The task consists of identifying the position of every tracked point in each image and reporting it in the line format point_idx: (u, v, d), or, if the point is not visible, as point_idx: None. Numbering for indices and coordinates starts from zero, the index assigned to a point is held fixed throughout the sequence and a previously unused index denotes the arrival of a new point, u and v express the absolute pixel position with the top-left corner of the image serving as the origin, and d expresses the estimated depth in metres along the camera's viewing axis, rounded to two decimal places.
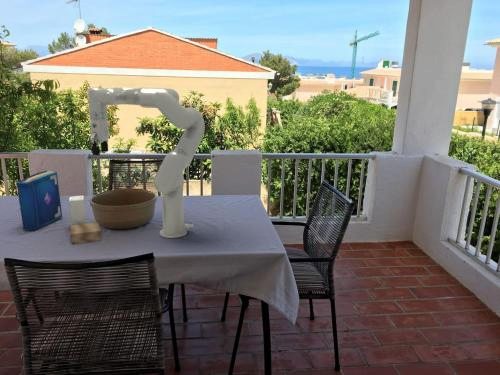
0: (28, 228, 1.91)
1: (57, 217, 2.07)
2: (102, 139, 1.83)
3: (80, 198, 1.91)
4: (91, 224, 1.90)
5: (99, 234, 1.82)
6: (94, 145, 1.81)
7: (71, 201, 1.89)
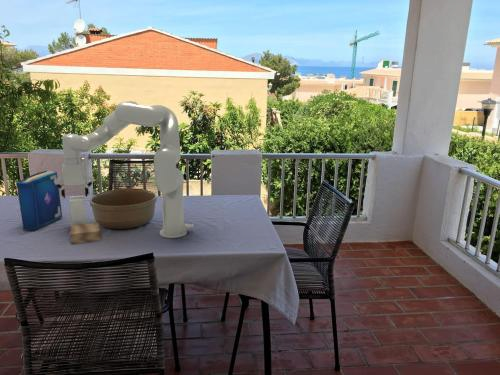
0: (28, 228, 1.91)
1: (57, 217, 2.07)
2: None
3: (80, 198, 1.91)
4: (91, 224, 1.90)
5: (99, 234, 1.82)
6: None
7: (71, 201, 1.89)
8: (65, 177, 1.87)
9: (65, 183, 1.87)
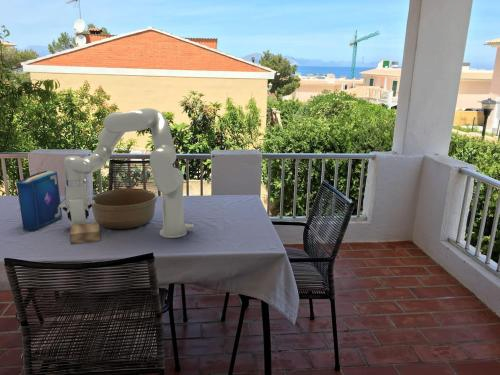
0: (28, 228, 1.91)
1: (57, 217, 2.07)
2: None
3: None
4: (92, 224, 1.90)
5: (98, 234, 1.82)
6: None
7: (71, 201, 1.89)
8: (68, 199, 1.89)
9: (68, 205, 1.90)
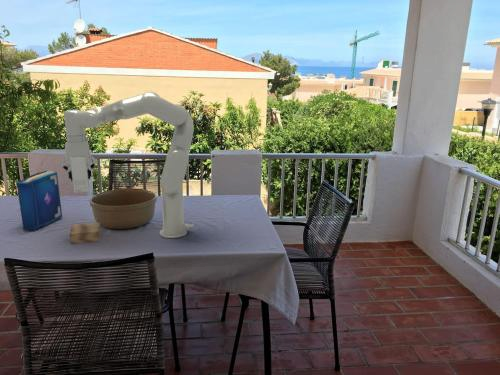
0: (28, 228, 1.91)
1: (57, 217, 2.07)
2: None
3: None
4: (92, 224, 1.90)
5: (98, 235, 1.82)
6: None
7: (72, 158, 1.74)
8: (68, 156, 1.74)
9: (69, 163, 1.75)
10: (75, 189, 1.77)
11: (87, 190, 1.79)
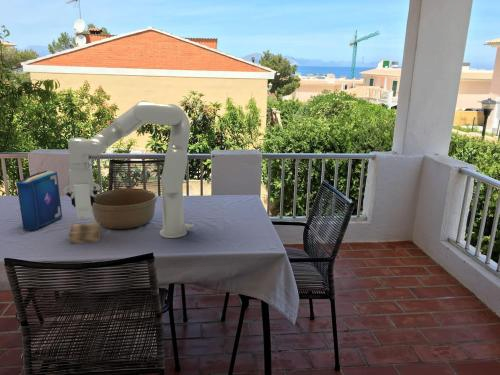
0: (28, 228, 1.91)
1: (57, 217, 2.07)
2: None
3: None
4: (92, 224, 1.90)
5: (97, 235, 1.82)
6: None
7: (75, 186, 1.75)
8: (72, 183, 1.76)
9: (72, 190, 1.77)
10: (78, 216, 1.79)
11: (90, 216, 1.81)
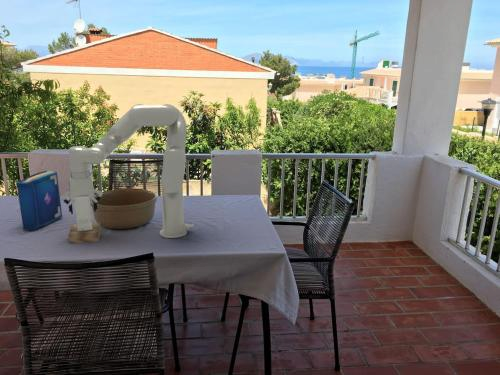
0: (28, 228, 1.91)
1: (57, 217, 2.07)
2: None
3: (86, 196, 1.79)
4: (93, 224, 1.90)
5: (97, 235, 1.81)
6: None
7: (76, 198, 1.77)
8: (72, 192, 1.77)
9: (73, 198, 1.78)
10: (79, 228, 1.80)
11: (90, 228, 1.82)
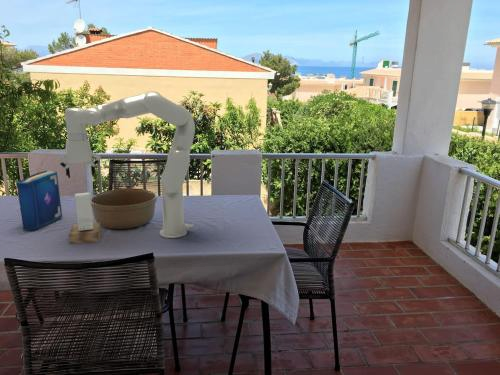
0: (28, 228, 1.91)
1: (57, 217, 2.07)
2: None
3: (86, 195, 1.80)
4: (93, 224, 1.90)
5: (97, 235, 1.81)
6: None
7: (77, 197, 1.78)
8: (69, 155, 1.73)
9: (70, 161, 1.74)
10: (79, 227, 1.80)
11: (91, 228, 1.82)
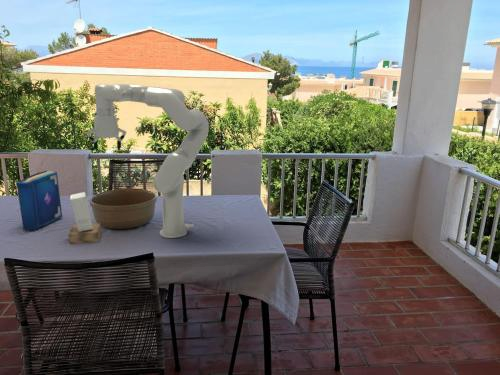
0: (28, 228, 1.91)
1: (57, 217, 2.07)
2: None
3: (81, 196, 1.78)
4: (93, 224, 1.90)
5: (96, 236, 1.81)
6: None
7: (72, 200, 1.76)
8: (98, 129, 1.83)
9: (98, 135, 1.83)
10: (79, 228, 1.80)
11: (90, 228, 1.82)
